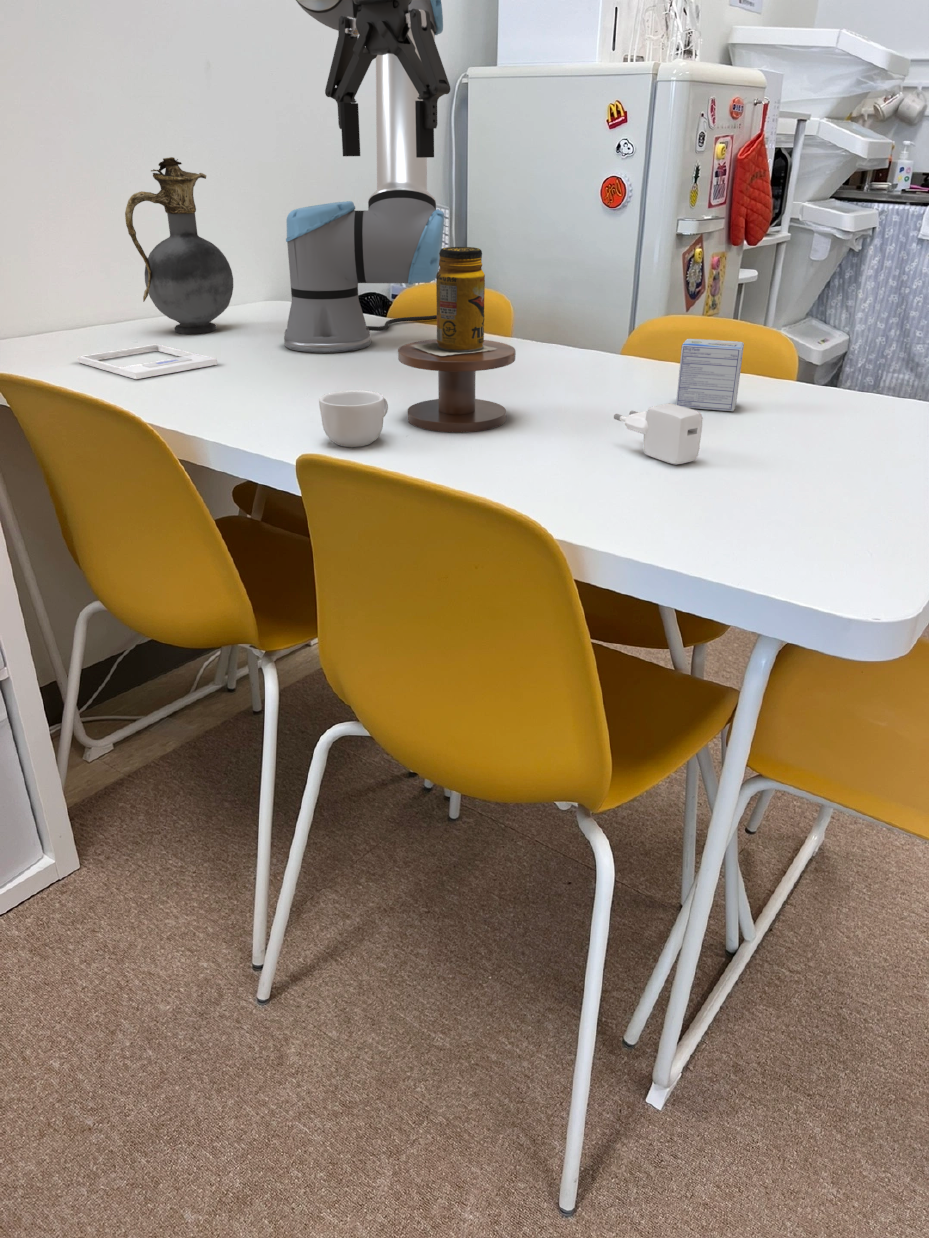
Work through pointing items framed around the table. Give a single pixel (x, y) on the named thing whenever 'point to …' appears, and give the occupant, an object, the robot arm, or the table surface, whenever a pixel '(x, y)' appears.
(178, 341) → the table surface
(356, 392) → the teacup
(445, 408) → the stand
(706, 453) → the table surface
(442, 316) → the condiment
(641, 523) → the table surface
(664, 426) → the power adapter
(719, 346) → the medicine box
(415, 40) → the robot arm
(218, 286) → the pitcher
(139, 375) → the photo frame
